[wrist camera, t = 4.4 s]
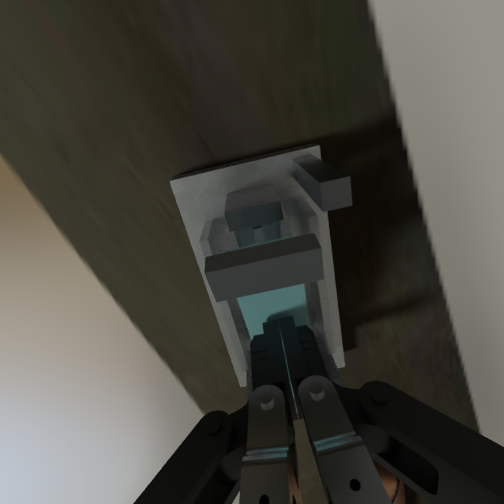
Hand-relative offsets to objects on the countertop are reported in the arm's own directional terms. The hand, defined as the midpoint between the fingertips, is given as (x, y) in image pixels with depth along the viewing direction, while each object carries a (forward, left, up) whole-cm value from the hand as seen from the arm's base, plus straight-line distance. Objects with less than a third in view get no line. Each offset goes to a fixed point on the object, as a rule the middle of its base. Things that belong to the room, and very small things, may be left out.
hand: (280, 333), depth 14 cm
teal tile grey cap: (+2, 0, -2) cm, 2 cm away
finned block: (+2, 0, -8) cm, 8 cm away
